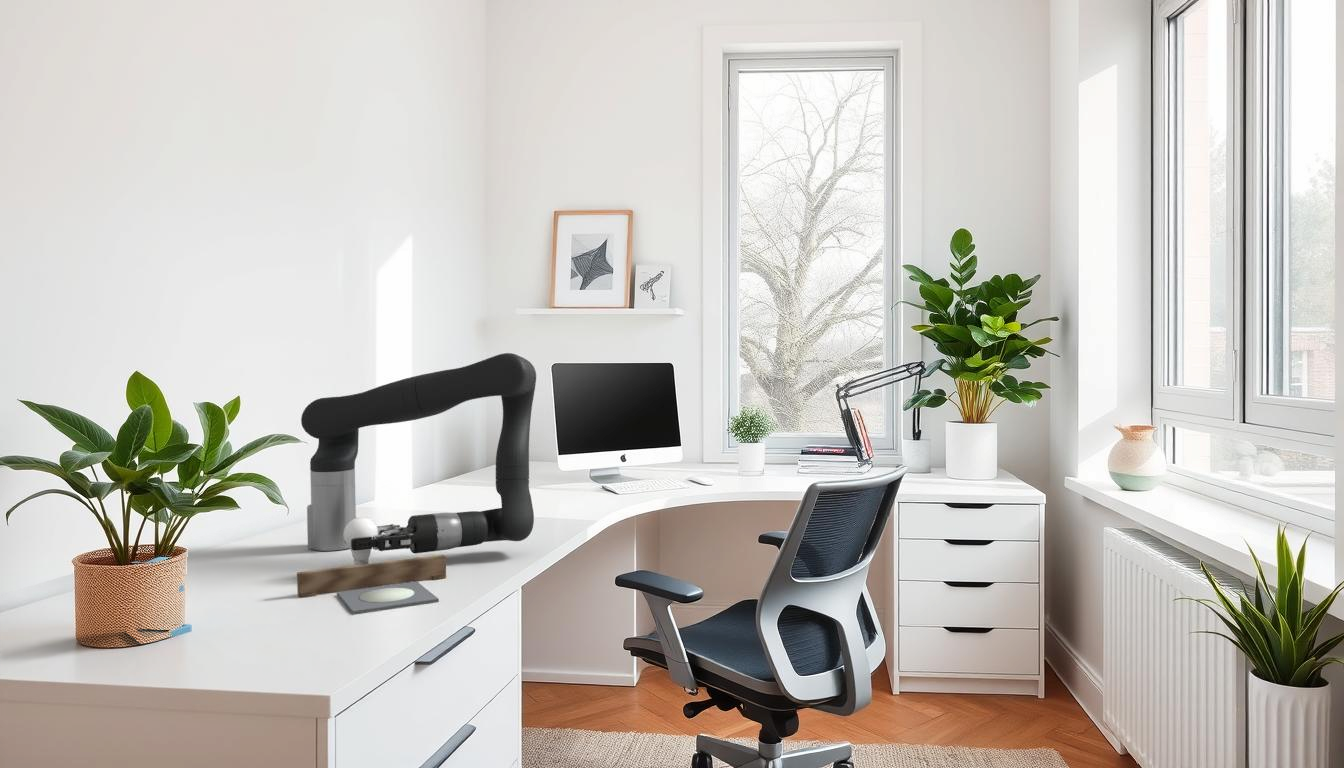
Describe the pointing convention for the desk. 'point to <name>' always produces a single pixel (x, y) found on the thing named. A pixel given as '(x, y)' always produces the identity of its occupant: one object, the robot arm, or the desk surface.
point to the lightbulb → (359, 530)
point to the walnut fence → (370, 575)
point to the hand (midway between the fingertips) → (348, 541)
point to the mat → (386, 597)
